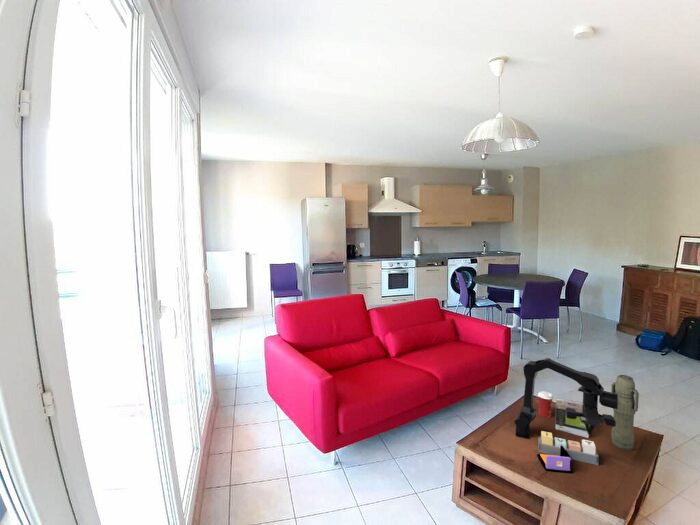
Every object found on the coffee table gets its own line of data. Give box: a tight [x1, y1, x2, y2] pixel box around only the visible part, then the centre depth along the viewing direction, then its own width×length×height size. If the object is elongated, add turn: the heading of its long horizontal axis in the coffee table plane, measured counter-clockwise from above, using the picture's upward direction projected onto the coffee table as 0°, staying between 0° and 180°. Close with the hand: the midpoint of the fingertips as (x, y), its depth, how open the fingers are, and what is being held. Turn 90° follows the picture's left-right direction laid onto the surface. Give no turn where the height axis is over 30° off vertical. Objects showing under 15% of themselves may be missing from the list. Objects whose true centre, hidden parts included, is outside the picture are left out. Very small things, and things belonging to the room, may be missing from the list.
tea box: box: [555, 397, 590, 439], centre depth 186 cm, size 15×10×15 cm
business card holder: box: [536, 445, 575, 474], centre depth 159 cm, size 12×12×7 cm
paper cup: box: [537, 390, 554, 419], centre depth 199 cm, size 8×8×14 cm
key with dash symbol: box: [567, 439, 581, 452], centre depth 165 cm, size 5×5×4 cm
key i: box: [540, 430, 554, 446], centre depth 169 cm, size 5×5×4 cm
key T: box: [581, 438, 597, 455], centre depth 162 cm, size 5×5×4 cm
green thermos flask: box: [610, 374, 640, 451], centre depth 172 cm, size 9×12×35 cm
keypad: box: [537, 435, 600, 466], centre depth 166 cm, size 24×7×4 cm, turn 64°
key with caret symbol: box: [553, 436, 567, 449], centre depth 167 cm, size 5×5×4 cm
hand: (588, 434), depth 162 cm, fingers closed
